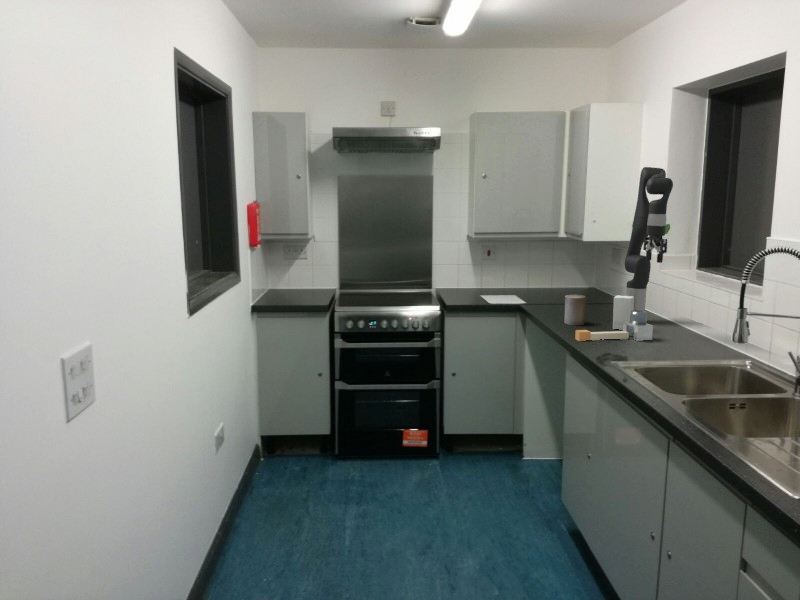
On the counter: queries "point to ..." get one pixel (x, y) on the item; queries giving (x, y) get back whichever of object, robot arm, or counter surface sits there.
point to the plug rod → (600, 335)
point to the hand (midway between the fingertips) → (653, 261)
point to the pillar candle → (575, 309)
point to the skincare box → (622, 310)
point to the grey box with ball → (638, 326)
